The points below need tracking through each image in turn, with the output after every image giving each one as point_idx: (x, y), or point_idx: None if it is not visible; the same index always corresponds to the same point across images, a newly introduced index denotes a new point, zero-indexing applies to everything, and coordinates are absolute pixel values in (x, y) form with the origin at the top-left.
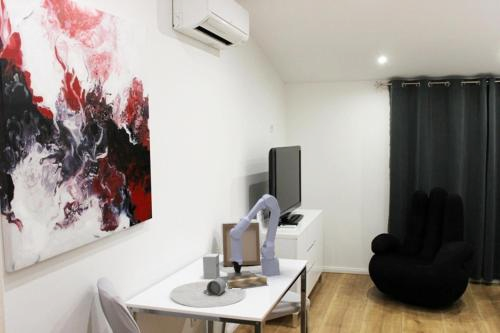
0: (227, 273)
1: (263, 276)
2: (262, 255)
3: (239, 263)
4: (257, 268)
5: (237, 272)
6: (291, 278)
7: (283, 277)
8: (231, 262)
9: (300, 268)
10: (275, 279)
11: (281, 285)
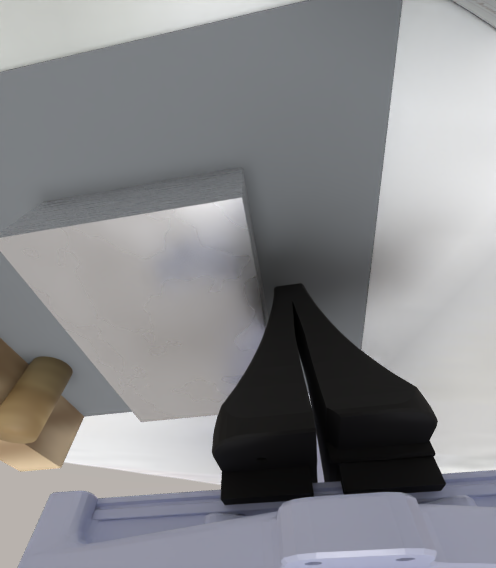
0: (236, 197)
1: (41, 463)
2: None
3: (41, 529)
4: (471, 409)
5: (241, 328)
6: (182, 478)
7: (206, 465)
8: (385, 408)
9: None
10: (175, 445)
11: None
